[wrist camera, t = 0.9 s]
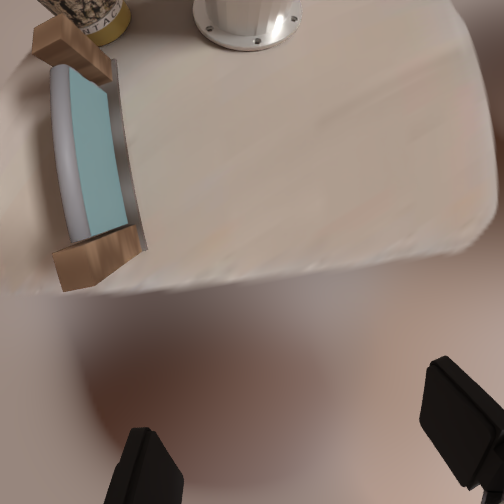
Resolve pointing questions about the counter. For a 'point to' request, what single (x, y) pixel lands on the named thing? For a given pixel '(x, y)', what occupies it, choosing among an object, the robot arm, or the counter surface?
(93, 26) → the wooden log
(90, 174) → the gate
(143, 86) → the counter surface
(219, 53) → the counter surface
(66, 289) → the gate frame
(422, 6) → the counter surface
